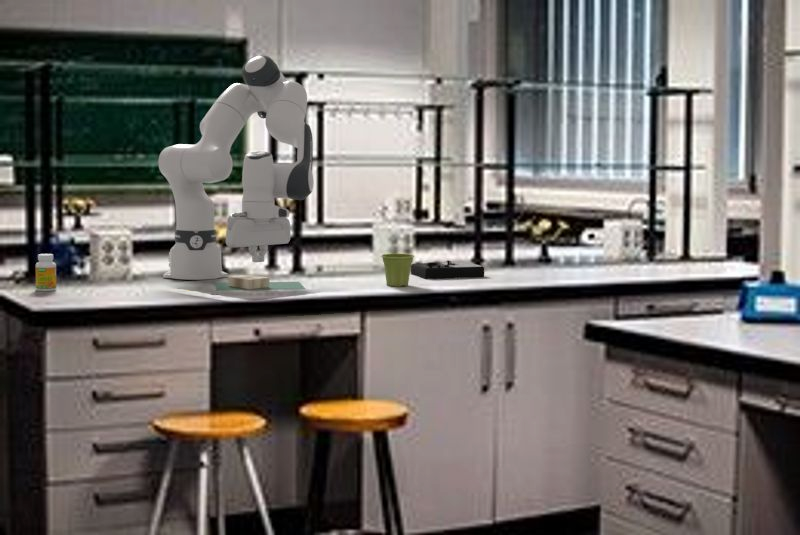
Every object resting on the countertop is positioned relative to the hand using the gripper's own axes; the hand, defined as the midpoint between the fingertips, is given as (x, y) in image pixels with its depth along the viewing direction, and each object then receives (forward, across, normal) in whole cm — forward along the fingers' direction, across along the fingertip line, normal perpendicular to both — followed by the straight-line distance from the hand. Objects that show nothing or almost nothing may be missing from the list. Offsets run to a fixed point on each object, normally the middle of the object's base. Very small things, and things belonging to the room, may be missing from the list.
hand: (258, 261), depth 356 cm
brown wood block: (+5, 0, 0) cm, 5 cm away
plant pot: (+8, +37, -17) cm, 41 cm away
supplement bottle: (+8, -44, +37) cm, 58 cm away
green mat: (+8, 0, 0) cm, 8 cm away
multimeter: (+8, +65, -10) cm, 66 cm away
